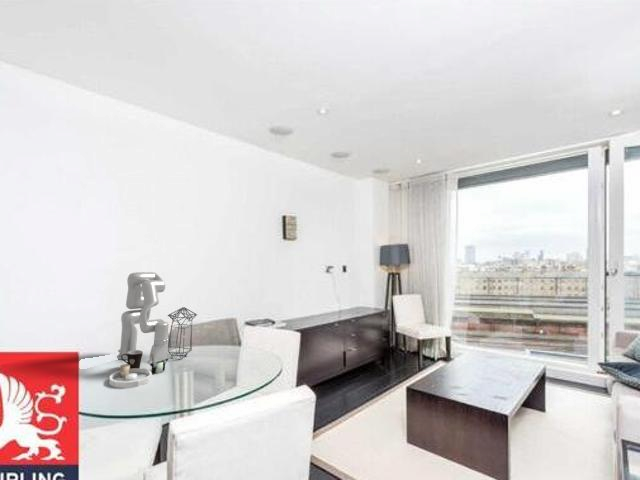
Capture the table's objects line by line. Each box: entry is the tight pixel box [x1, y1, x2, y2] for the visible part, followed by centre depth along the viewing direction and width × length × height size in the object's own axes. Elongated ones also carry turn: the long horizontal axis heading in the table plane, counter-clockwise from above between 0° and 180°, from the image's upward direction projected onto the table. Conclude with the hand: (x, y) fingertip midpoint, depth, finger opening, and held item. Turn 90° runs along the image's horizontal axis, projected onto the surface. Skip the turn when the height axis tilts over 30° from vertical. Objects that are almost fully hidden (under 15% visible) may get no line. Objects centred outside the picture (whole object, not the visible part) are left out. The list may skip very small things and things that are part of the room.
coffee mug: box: [121, 349, 144, 369], centre depth 214 cm, size 12×9×10 cm
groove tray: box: [108, 367, 153, 389], centre depth 195 cm, size 21×21×3 cm
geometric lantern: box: [167, 306, 198, 360], centre depth 240 cm, size 16×16×35 cm
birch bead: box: [119, 363, 130, 378], centre depth 198 cm, size 5×5×6 cm
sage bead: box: [154, 361, 164, 375], centre depth 210 cm, size 5×5×6 cm
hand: (158, 371), depth 210 cm, fingers open, 5 cm apart
